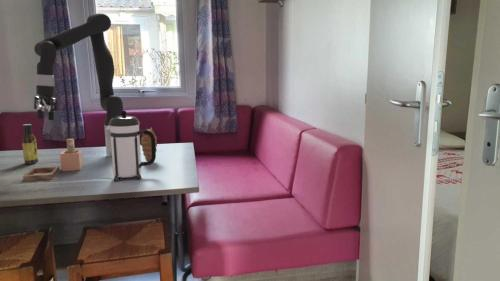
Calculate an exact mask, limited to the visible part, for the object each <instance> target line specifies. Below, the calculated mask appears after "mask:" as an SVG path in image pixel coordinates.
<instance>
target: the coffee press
mask: <svg viewBox="0 0 500 281" xmlns="http://www.w3.org/2000/svg"><path fill="white" fill-rule="evenodd" d="M121 114H122V115H123V116H117V117H114V118H112V119H111V120H110V123H109V125H108V126H107V128H106V130H110V136H111V148H112V157H111V161H112V173H113V176H114V178H113V181H114V182H115V183H116V182H119V181H120V179H122V178H125V179H126V178H133V177H135V178H136V180H138V181H139V180H141V179H142V176H141V173H142V167H145V166H151V165H153V164H154V162H155V160H156V159H157V158H156V156H157V151H156V149H157V147H155V138H154V135H153V134H152V132H150V131H148V130H145V129H143V130H142V129H141V130H140V124H141V122H140V120H139V119H138V118H137V117H136V116H134V115H133V116H132V115H127V111H126V110H124V109H123V111H122V112H121ZM143 134H147V135H149V136H150V138H151V147H152V158H151V160H150V161H142V158H141V157H142V156H141V138H140V135H143Z"/></svg>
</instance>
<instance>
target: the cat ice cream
mask: <svg viewBox="0 0 500 281" xmlns="http://www.w3.org/2000/svg"><path fill="white" fill-rule="evenodd" d="M144 130H148V131H150V132H152V134H153V135H154V138H155V147H156V152H157V150H158V149H157V148H158V147H157V146H158V142H157V141H158V140H157V139H158V138H157V135H156V133H155V132H154V130H153V127H152V126H151V127H150V129H149V128H145V129H144ZM140 147H141V148H142V149H141V150H142V152H143V154H142V155H143V156H144V160H145V162H147V161H150V160H151V158H152V147H151V138H150V136H149V135H147V134H142V137H141V138H140Z"/></svg>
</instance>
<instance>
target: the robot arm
mask: <svg viewBox="0 0 500 281" xmlns="http://www.w3.org/2000/svg"><path fill="white" fill-rule="evenodd" d="M111 27H112V21H111V18H110V17H109V16H108V15H107V14H106V13H103V12H102V13H101V12H98V13H93V14H90V15H89V16H87V20H86V22H85V23H82V24H80V25H77V26H74V27H72V28H68V29H66V30H64V31H61V32H59V33H57V34H56V35H54V36H52V37H51V36H50V37H49V38H46V39H43V40H41V41H38V42H37V43H36V44H35V45H34V52H35V54H36V55H37V56H39V62H37V64H36V79H35V81H36V82H35V83H36V84H35V86H36V87H35V90H36V91H35V92H36V95H37V96H34V100H33V109H34V110H36V112H37V113H36V114H37V119H39V120H41V119H43V117H44V114H43V112H44V111H43V109H45V108H46V110H47V111H48V114H47V115H48V116H47V117H48V121H54V118H55V116H54V115H55V112H57V111H58V99H57V97H53V96H55V62H56V60H57V59H56V58H57V52H58V51H61V50H64V49H66V48H69V47H71V46H73V45H75V44H76V43H78V42H80V41H83V40H84V39H87V38H90V41H91V46H92V52H93V57H94V63H95V64H94V65H95V71H96V75H97V82H98V87H99V102H100V104H99V105H100V107H101V109H102V110H104V111H105V112H106V118H105V119H104V122H103V123H104V138H105V150H106V151H105V152H106V156H107V157H108V158H112V148H111V136H110V130H106V128H107V126H108V125H109V123H110V120H111V119H112V118H114V117H117V116H123V115H122V114H121V112H122V111H123V110H124V104H123V100H122V99H121V98H120V96H118V95H115V93H114V87H113V84H114V83H113V82H114V77H115V63H114V58H113V55H112V52H111V50H110V49H109V48H108V46H107V43H106V41H105V35H104V33H105V32H107V31H108V30H110V28H111Z"/></svg>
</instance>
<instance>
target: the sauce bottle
mask: <svg viewBox="0 0 500 281" xmlns="http://www.w3.org/2000/svg"><path fill="white" fill-rule="evenodd" d="M22 128H23V135H22V137H21V142H22V143H21V144H22V146H21V147H22V152H23V153H22V155H23V161H24V164H25V165H32V164H37V163H38V162H39V154H38V145H37V138H36V136H35V134H33V124H31V123H28V124H27V123H25V124H22Z"/></svg>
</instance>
